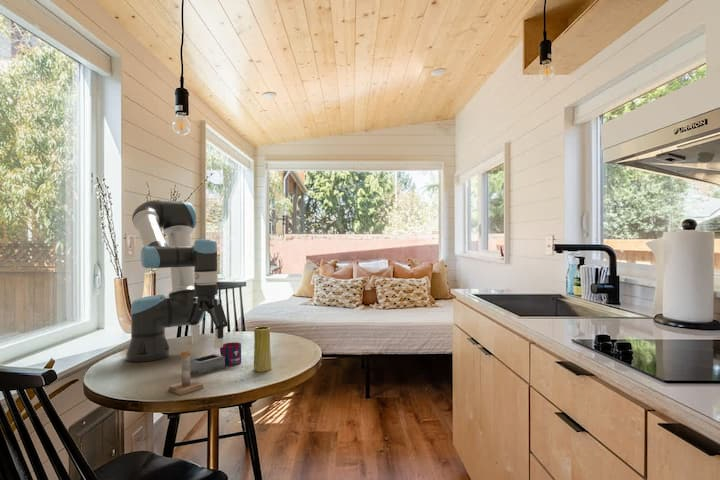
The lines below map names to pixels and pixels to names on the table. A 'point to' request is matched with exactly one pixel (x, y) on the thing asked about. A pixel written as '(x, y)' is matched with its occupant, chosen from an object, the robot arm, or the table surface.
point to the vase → (262, 349)
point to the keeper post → (185, 377)
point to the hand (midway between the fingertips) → (207, 345)
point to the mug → (231, 353)
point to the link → (207, 364)
